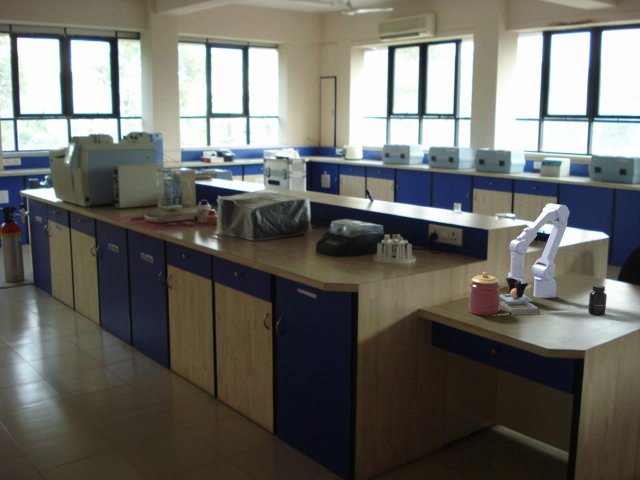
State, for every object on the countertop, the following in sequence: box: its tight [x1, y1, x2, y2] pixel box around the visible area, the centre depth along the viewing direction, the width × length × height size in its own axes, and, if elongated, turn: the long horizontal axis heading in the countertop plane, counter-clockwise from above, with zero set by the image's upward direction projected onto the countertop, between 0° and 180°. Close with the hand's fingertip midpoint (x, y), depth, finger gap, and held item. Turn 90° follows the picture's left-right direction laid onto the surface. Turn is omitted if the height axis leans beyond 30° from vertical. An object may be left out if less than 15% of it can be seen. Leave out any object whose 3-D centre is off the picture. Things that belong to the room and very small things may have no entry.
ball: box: [509, 288, 519, 299], centre depth 307 cm, size 5×5×5 cm
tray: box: [499, 301, 540, 315], centre depth 293 cm, size 12×12×2 cm
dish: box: [500, 293, 534, 303], centre depth 307 cm, size 11×11×2 cm
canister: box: [468, 271, 501, 316], centre depth 289 cm, size 13×13×18 cm
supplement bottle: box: [587, 284, 608, 316], centre depth 286 cm, size 7×7×12 cm
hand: (515, 295), depth 307 cm, fingers open, 7 cm apart
